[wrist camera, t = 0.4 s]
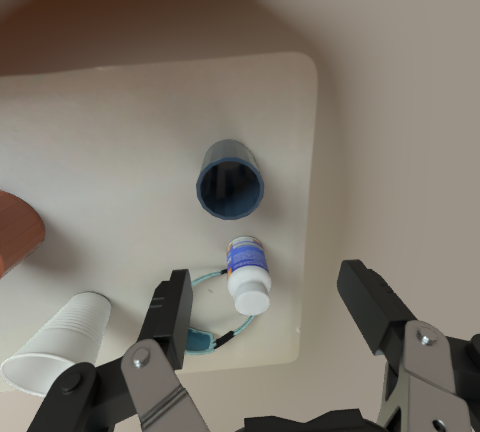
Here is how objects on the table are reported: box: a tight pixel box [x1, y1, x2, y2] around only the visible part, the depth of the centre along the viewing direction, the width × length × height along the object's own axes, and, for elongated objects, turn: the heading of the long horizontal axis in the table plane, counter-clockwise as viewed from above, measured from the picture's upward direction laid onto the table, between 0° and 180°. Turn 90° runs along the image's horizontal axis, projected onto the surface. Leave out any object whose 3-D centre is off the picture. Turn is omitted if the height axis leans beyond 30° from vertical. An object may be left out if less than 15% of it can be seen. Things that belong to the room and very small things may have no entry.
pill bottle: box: [227, 236, 271, 316], centre depth 29 cm, size 5×5×10 cm
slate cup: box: [196, 139, 264, 220], centre depth 24 cm, size 6×6×8 cm
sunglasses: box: [185, 269, 255, 355], centre depth 37 cm, size 14×15×5 cm
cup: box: [0, 292, 111, 397], centre depth 32 cm, size 10×10×11 cm
